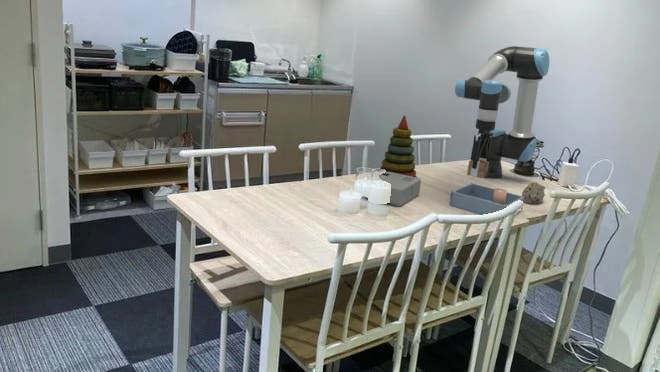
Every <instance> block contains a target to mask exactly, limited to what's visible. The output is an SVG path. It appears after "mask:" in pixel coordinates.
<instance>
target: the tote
mask: <svg viewBox="0 0 660 372" xmlns="http://www.w3.org/2000/svg"><path fill="white" fill-rule="evenodd" d="M494 189H495V188H492V187H488V186H485V185H481V184H476V183H474V182H473V183H472V182H471V183H469V184H466V185H464V186H462V187H459V188H457V189H454V190H452V191H451V193H450V199H449V206H451V207H456V208H459V209H463V210H465V211H469V212H472V213H476V214H478V215H482V214H488V213H493V212H496V211H499V210H502V209H504V208H506V207H507V206H509V205H510V204H512V203H513V202H515V201H518V200H521V201H523V203H524V197H523V196H522V195H518V194H516V193H511V192H508V191H507V194H506V200H505V205H500V204H496V203H493V202H492V199H493V194H494ZM521 209H522V210H523V207H522V208H521Z"/></svg>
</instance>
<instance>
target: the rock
mask: <svg viewBox="0 0 660 372" xmlns="http://www.w3.org/2000/svg"><path fill="white" fill-rule="evenodd" d="M545 189H546V186H544V185H542V184H540V183H538V182H537V181H533V182H530V183H528V184H527V186H525V188H524V189H523V190H522V192H521V193H522V194H521V196H523V197H524V202H523V204H524V203H525V204H540V203H541V202H542V201H543V199H544V197H545V194H546V193H545Z"/></svg>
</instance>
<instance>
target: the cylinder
mask: <svg viewBox="0 0 660 372" xmlns="http://www.w3.org/2000/svg"><path fill="white" fill-rule="evenodd" d="M493 189H494V194H493V199H492V202H493V203H496V204H500V205H505V200H506V194H507V192H508V191H507V190H506V189H503V188H493Z"/></svg>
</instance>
